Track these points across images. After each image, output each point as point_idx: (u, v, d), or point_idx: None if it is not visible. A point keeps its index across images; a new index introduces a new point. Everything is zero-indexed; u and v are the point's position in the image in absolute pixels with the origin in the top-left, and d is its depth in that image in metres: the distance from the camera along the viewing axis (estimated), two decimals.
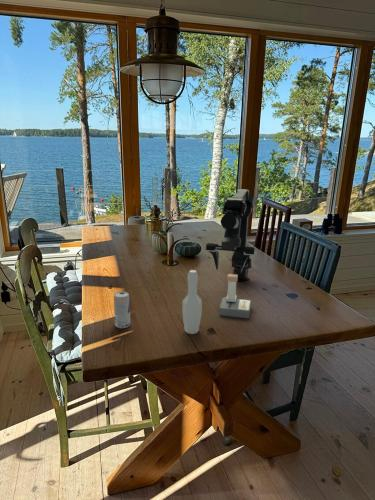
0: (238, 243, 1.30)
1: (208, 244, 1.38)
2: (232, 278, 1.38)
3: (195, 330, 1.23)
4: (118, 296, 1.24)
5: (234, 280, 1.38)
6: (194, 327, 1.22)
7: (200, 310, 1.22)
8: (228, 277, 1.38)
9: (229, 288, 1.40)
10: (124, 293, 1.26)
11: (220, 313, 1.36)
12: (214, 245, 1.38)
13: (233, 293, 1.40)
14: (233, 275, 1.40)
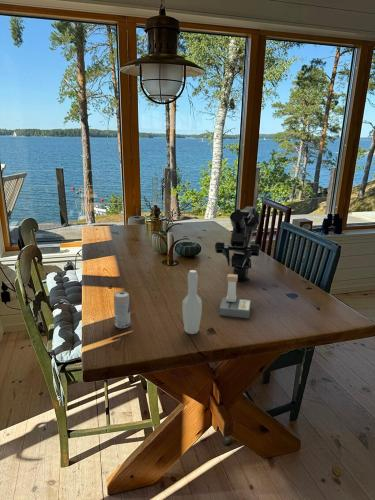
0: (246, 235, 1.48)
1: (217, 242, 1.54)
2: (232, 278, 1.38)
3: (195, 330, 1.23)
4: (118, 296, 1.24)
5: (234, 280, 1.38)
6: (194, 327, 1.22)
7: (200, 310, 1.22)
8: (228, 277, 1.38)
9: (229, 288, 1.40)
10: (124, 293, 1.26)
11: (220, 313, 1.36)
12: (223, 242, 1.53)
13: (233, 293, 1.40)
14: (233, 275, 1.40)
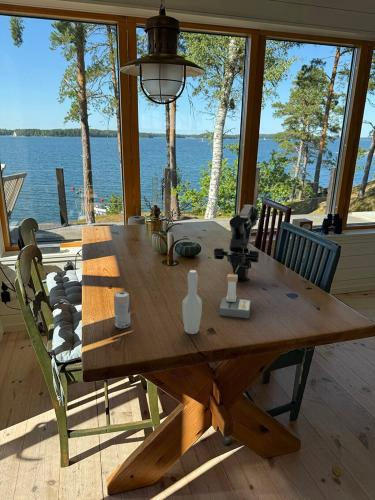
0: (246, 241, 1.46)
1: (216, 248, 1.52)
2: (232, 278, 1.38)
3: (195, 330, 1.23)
4: (118, 296, 1.24)
5: (234, 280, 1.38)
6: (194, 327, 1.22)
7: (200, 310, 1.22)
8: (228, 277, 1.38)
9: (229, 288, 1.40)
10: (124, 293, 1.26)
11: (220, 313, 1.36)
12: (222, 249, 1.51)
13: (233, 293, 1.40)
14: (233, 275, 1.40)
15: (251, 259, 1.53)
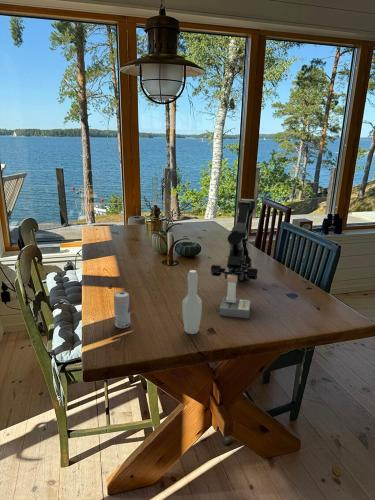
0: (244, 259, 1.40)
1: (213, 265, 1.46)
2: (232, 279, 1.38)
3: (195, 330, 1.23)
4: (118, 296, 1.24)
5: (234, 281, 1.38)
6: (194, 327, 1.22)
7: (200, 310, 1.22)
8: (228, 278, 1.38)
9: (229, 289, 1.39)
10: (124, 293, 1.26)
11: (220, 313, 1.36)
12: (219, 265, 1.45)
13: (233, 294, 1.39)
14: (233, 276, 1.39)
15: (249, 276, 1.47)
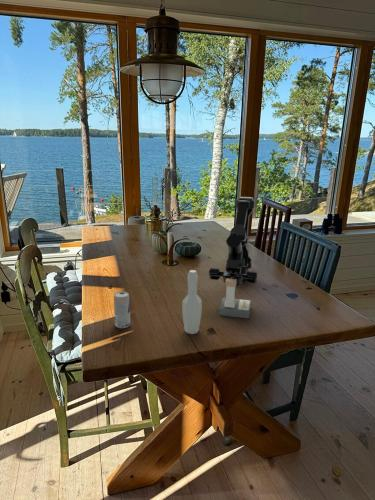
0: (243, 262, 1.36)
1: (211, 268, 1.42)
2: (231, 283, 1.33)
3: (195, 330, 1.23)
4: (118, 296, 1.24)
5: (233, 285, 1.33)
6: (194, 327, 1.22)
7: (200, 310, 1.22)
8: (227, 282, 1.34)
9: (228, 293, 1.35)
10: (124, 293, 1.26)
11: (220, 313, 1.36)
12: (217, 269, 1.41)
13: (232, 298, 1.35)
14: (232, 280, 1.35)
15: (249, 280, 1.43)
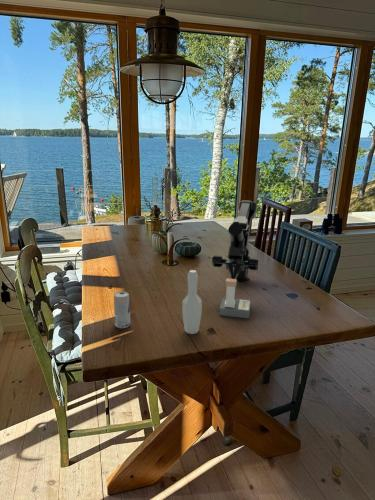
0: (244, 250, 1.42)
1: (214, 256, 1.48)
2: (231, 283, 1.33)
3: (195, 330, 1.23)
4: (118, 296, 1.24)
5: (233, 285, 1.33)
6: (194, 327, 1.22)
7: (200, 310, 1.22)
8: (227, 282, 1.34)
9: (228, 293, 1.35)
10: (124, 293, 1.26)
11: (220, 313, 1.36)
12: (220, 256, 1.47)
13: (232, 298, 1.35)
14: (232, 280, 1.35)
15: (250, 267, 1.49)
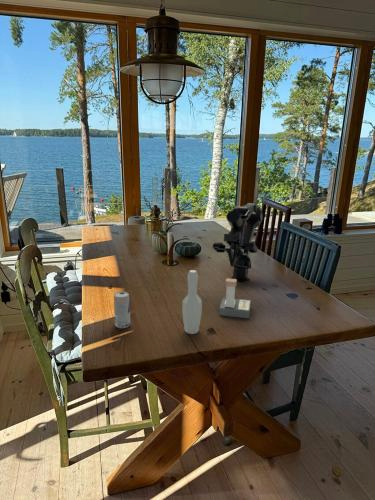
0: (238, 235, 1.47)
1: (215, 243, 1.57)
2: (231, 283, 1.33)
3: (195, 330, 1.23)
4: (118, 296, 1.24)
5: (233, 285, 1.33)
6: (194, 327, 1.22)
7: (200, 310, 1.22)
8: (227, 282, 1.34)
9: (228, 293, 1.35)
10: (124, 293, 1.26)
11: (220, 313, 1.36)
12: (219, 243, 1.55)
13: (232, 298, 1.35)
14: (232, 280, 1.35)
15: (250, 250, 1.53)
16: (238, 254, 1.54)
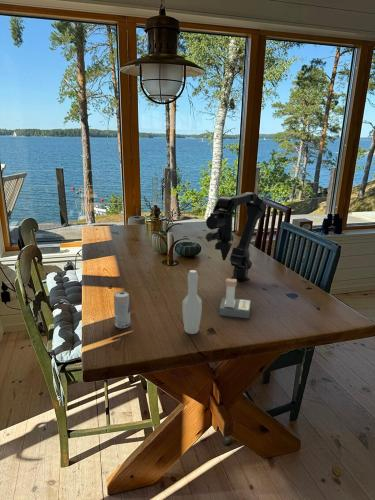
0: (207, 237, 1.55)
1: None
2: (231, 283, 1.33)
3: (195, 330, 1.23)
4: (118, 296, 1.24)
5: (233, 285, 1.33)
6: (194, 327, 1.22)
7: (200, 310, 1.22)
8: (227, 282, 1.34)
9: (228, 293, 1.35)
10: (124, 293, 1.26)
11: (220, 313, 1.36)
12: None
13: (232, 298, 1.35)
14: (232, 280, 1.35)
15: None
16: None
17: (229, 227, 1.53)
